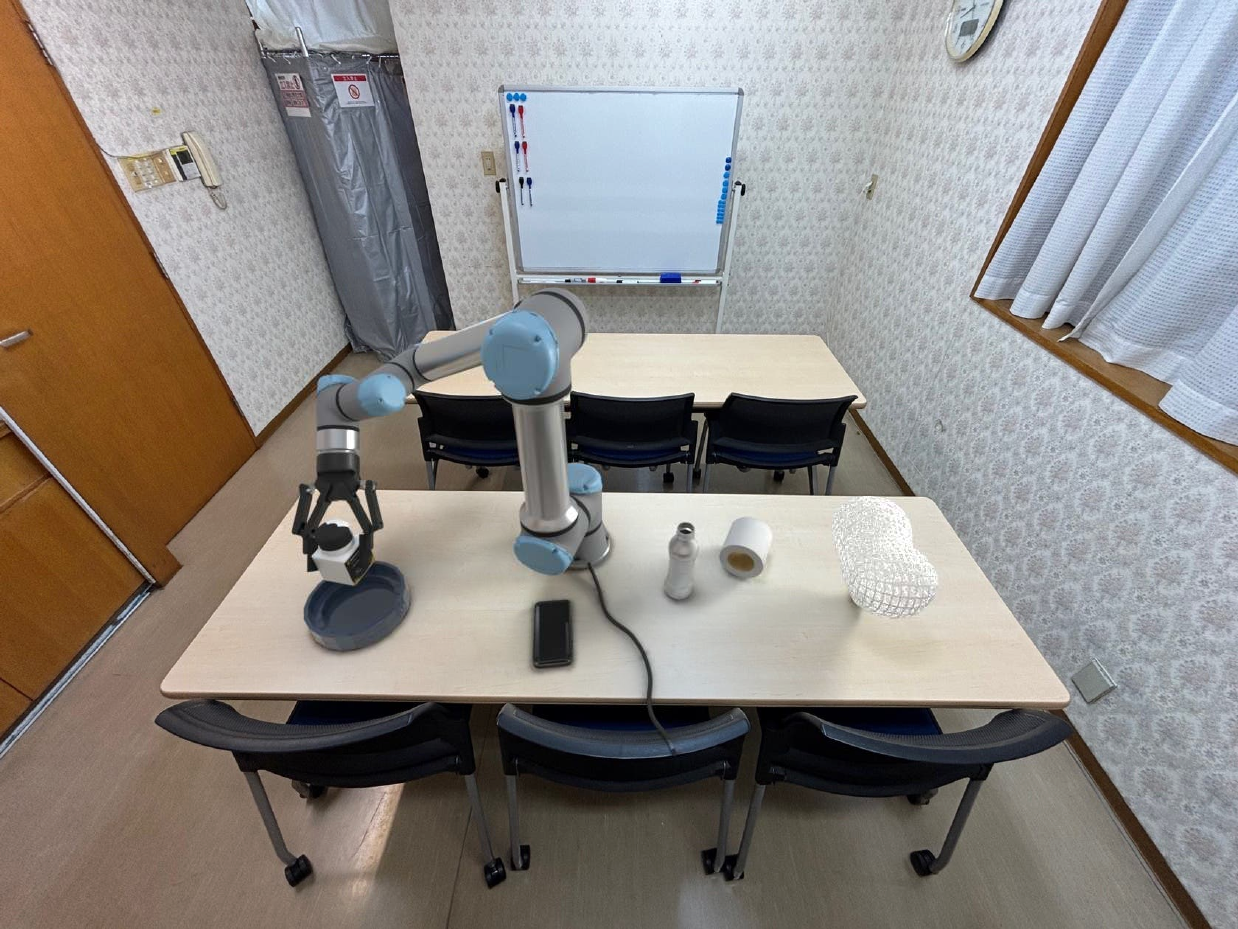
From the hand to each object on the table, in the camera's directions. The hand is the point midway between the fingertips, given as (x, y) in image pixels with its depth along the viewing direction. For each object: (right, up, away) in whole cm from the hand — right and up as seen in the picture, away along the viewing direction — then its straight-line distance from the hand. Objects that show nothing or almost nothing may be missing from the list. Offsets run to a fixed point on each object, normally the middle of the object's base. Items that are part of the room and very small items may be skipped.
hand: (338, 569), depth 98 cm
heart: (+107, -10, +15) cm, 109 cm away
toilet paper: (+84, -3, +24) cm, 87 cm away
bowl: (-1, -11, +12) cm, 16 cm away
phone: (+40, -15, +8) cm, 44 cm away
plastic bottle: (+67, -9, +17) cm, 70 cm away
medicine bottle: (0, -1, +5) cm, 5 cm away
